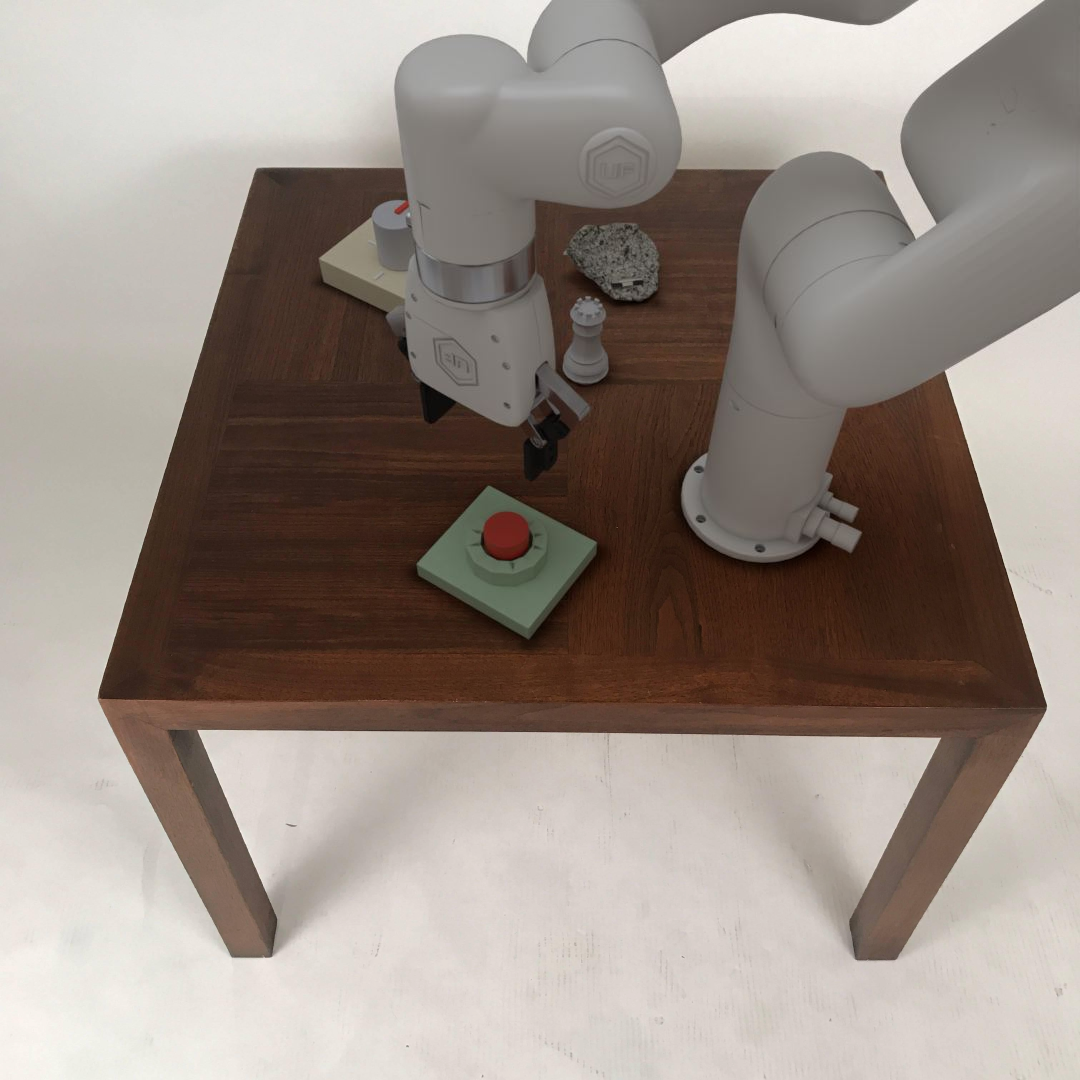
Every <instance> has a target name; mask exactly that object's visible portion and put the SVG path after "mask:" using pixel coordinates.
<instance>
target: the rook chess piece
mask: <svg viewBox="0 0 1080 1080" xmlns="http://www.w3.org/2000/svg"><path fill="white" fill-rule="evenodd" d="M584 299H585V300H583V298H581V297H579V298H578V299H576V303H574V306H572V308H571V310H570V312H569V313H570V318H571V319H572V321H573V322H572V324H571V327H572V328H571V329H572V331H573V338H572V342H571V344H570V346H569V347H568V348H567V350H566V352H565V353H564V356H563V363H562V371H563V373H564V375H565V376H566V377H567V378H568V379H569V380H571V381H572V382H573V383H576V384H579V385H592V384H596V383H598V382H600V381H601V380H602V379H604V378H605V377H606V376H607V374H608V372H609V357H608V353H607V352H606V351H605V348H604V347H603V345H602V340H601V339H602V338H601V332H602V331H603V329H604V327H603V321H605V319H606V317H607V313H606V312H607V311H606V309H605V308H604V307H603V303H601V300H600V299H599V298H597V297H595V298H594V300H592V297H591V296H588V295H587V296H585V297H584Z"/></svg>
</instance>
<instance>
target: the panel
mask: <svg viewBox="0 0 1080 1080" xmlns="http://www.w3.org/2000/svg"><path fill="white" fill-rule="evenodd" d="M318 263H319V267H320V272H321V277H322V280H323V283H324V284H326V285H327V284H328V285H329V286H331V287H334V288H336V289H338V290H339V291H342V292H344V293H346V294H348V295H350V296H353V297H355V298H357V299H359V300H361V301H363V302H365V303H368V304H370V305H372V306H373V307H376V308H378V309H380V310H382V311H384V312H387V314H388V313H390V312H391V311H392V310H393V309H395V308H396V307H397V306H405V288H406V279H407V272H408V270H406V271H395V270H390V269H388V268H386V267H384V266H383V265H382V264H381V263H380V261H379V258H378V251H377V245H376V239H375V233H374V227H373V221H372V216H371V217H370V218H368V219H367V220H366V221H364V222H363V223H362V224H361V225H359V226H358V227H357V228H356V229H354V230H353V231H351V232H350V233H349V234H348V235H347V236H345V237H344V238H343V239H341V241H339V242H338V243H337V244H335V245H334V246H332V247H331V248H330V249H329V250H328V251H327V252H325V253H324V254H322V255H321V256H320V257H318Z"/></svg>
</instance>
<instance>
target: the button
mask: <svg viewBox="0 0 1080 1080" xmlns="http://www.w3.org/2000/svg"><path fill="white" fill-rule="evenodd" d="M483 532H484V544H485V548H486V550H487V552H488V553H489V554H490V555H491V556H493V557H495V558H497V559H500V560H512V559H516V558H518V557H520V556H522V555H523V554H524V553H525V552H526V550H527V549H528V546H529V525H528V523H527V521H526V520H525V518H524V517H522V516H521V515H519V514H517V513H515V512H509V511H504V512H499V513H496V514H494V515H492V516H491V517H490V518H489V519H488V520H487V521H486V522H485V525H484V528H483Z"/></svg>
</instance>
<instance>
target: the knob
mask: <svg viewBox="0 0 1080 1080" xmlns="http://www.w3.org/2000/svg"><path fill="white" fill-rule="evenodd" d="M408 211H409V202H408V199H407V200H405V199H403V200H402V199H393V200H388V201H386V202H383V203H381V204H379V205H377V206H376V207H375V208H374V209H373V211H372V214H371V217H372V221H373V227H374V233H375V239H376V245H377V251H378V258H379V261H380V263H381V264H382V265H383V266H384V267H386V268H388V269H390V270H395V271H406V270H408V267H409V261H410V259H411V257H412V256H413V255H414V254H415V249H414V242H413V232H412V228H410V227H408V226H407V224H406V216H407V213H408Z"/></svg>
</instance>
